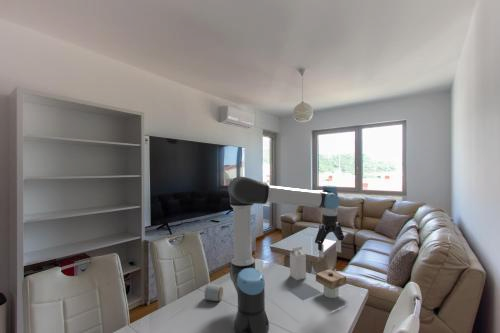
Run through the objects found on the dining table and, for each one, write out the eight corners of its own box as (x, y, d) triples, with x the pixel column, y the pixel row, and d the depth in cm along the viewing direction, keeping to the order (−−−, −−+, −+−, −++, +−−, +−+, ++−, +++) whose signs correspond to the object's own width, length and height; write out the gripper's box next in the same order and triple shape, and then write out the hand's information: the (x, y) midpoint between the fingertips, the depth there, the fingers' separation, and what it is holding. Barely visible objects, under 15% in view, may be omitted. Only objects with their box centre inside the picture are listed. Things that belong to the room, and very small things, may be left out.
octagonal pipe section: (331, 300, 125) (331, 287, 125) (320, 293, 131) (320, 281, 131) (341, 296, 129) (341, 283, 129) (330, 290, 135) (330, 278, 135)
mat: (302, 301, 124) (302, 300, 124) (286, 290, 135) (286, 289, 135) (322, 293, 131) (322, 292, 131) (305, 283, 143) (305, 282, 143)
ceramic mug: (219, 304, 123) (219, 289, 123) (204, 302, 124) (204, 287, 124) (225, 293, 133) (225, 279, 133) (211, 292, 134) (211, 278, 135)
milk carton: (290, 276, 153) (289, 246, 153) (299, 274, 156) (298, 244, 156) (296, 281, 146) (296, 249, 146) (306, 278, 149) (305, 248, 149)
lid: (331, 289, 122) (331, 279, 122) (315, 280, 132) (315, 271, 132) (346, 284, 128) (346, 274, 128) (329, 276, 137) (329, 267, 137)
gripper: (318, 218, 120) (318, 260, 120) (351, 213, 133) (351, 252, 133) (307, 215, 127) (307, 256, 127) (339, 211, 140) (339, 248, 139)
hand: (330, 254), depth 130 cm, fingers open, 13 cm apart
